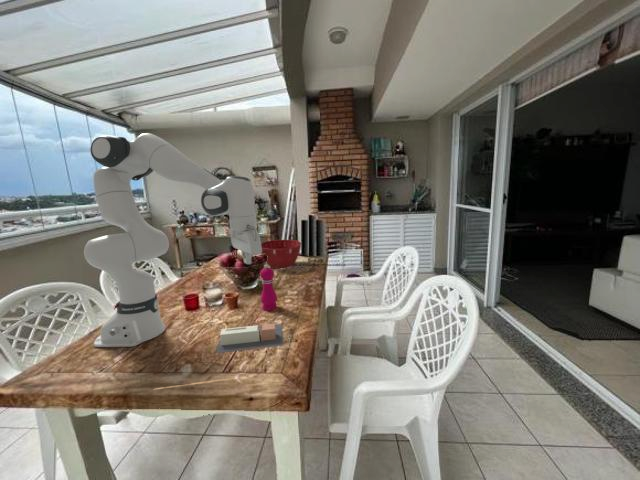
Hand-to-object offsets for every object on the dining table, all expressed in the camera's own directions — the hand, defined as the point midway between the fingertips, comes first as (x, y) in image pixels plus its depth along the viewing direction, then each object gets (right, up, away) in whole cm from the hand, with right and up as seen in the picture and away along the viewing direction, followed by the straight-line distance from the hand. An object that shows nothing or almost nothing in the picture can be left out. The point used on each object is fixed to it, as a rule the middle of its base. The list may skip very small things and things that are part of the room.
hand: (247, 263), depth 100 cm
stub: (+7, -27, +2) cm, 27 cm away
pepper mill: (+3, -22, +28) cm, 36 cm away
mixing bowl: (-1, -10, +93) cm, 94 cm away
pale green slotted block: (-3, -27, +1) cm, 27 cm away
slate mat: (+1, -27, +3) cm, 27 cm away
